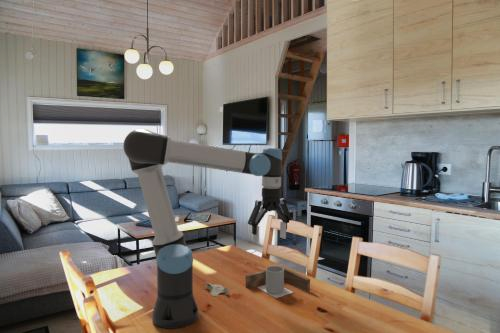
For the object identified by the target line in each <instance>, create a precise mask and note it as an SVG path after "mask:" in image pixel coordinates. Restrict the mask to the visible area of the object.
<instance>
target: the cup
mask: <svg viewBox="0 0 500 333" xmlns="http://www.w3.org/2000/svg"><path fill="white" fill-rule="evenodd" d="M284 268H285V267H284ZM284 268H283V266H281V267H280V265H269V266H267V267H266V268H265V270H266V283H265V285H266V291H267V292H268V293H270V294H281V293H283V291H284V288H285V281H284Z"/></svg>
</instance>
